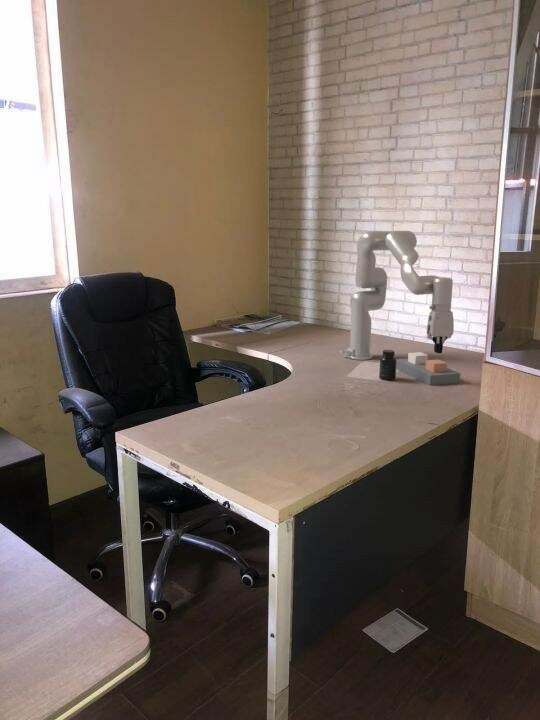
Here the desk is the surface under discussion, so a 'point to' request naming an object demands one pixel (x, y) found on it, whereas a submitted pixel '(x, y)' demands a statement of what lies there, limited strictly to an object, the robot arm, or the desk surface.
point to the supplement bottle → (388, 366)
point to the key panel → (427, 373)
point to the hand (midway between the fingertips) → (438, 352)
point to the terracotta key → (436, 366)
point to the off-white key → (417, 358)
